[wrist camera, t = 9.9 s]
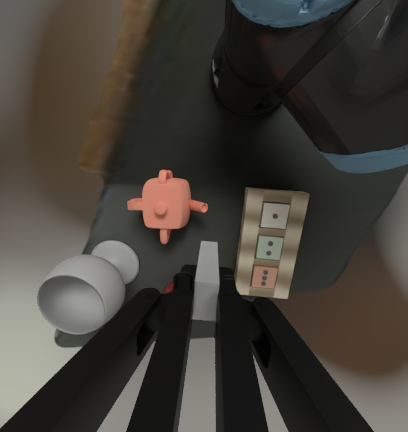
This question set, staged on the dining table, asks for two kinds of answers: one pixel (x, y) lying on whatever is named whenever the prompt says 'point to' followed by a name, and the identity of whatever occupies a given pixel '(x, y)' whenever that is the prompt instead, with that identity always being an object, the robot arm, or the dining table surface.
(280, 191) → the key board
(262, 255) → the key two
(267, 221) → the key one
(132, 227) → the dining table surface
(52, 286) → the chalice
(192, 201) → the teapot
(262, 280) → the key three
